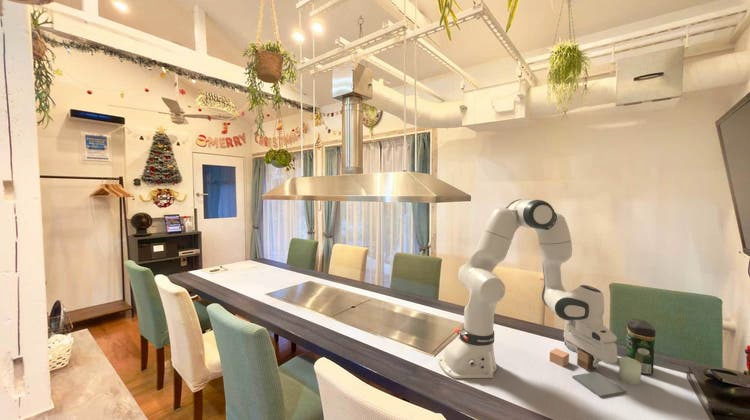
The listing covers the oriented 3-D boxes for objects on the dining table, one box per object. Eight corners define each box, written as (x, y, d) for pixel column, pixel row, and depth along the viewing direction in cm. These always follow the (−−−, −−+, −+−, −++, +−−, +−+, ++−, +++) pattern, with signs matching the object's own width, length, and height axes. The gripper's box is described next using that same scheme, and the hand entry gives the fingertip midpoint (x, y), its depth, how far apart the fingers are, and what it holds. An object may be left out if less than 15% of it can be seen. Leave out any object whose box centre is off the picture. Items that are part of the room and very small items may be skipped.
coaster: (600, 397, 101) (600, 395, 101) (572, 377, 112) (572, 375, 112) (626, 393, 104) (626, 390, 104) (596, 373, 114) (596, 371, 114)
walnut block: (587, 371, 116) (588, 356, 116) (577, 364, 120) (577, 349, 120) (596, 369, 117) (597, 354, 117) (586, 363, 121) (587, 348, 121)
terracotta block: (562, 367, 119) (563, 357, 119) (549, 361, 123) (549, 351, 123) (568, 363, 122) (569, 353, 121) (555, 357, 126) (556, 348, 126)
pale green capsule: (631, 386, 107) (632, 367, 107) (614, 376, 113) (615, 358, 113) (644, 384, 109) (645, 365, 108) (627, 374, 114) (628, 356, 114)
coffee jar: (623, 359, 124) (625, 315, 123) (648, 365, 120) (651, 319, 119) (628, 371, 116) (631, 324, 115) (655, 378, 112) (658, 329, 111)
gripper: (560, 317, 127) (558, 349, 128) (607, 341, 107) (605, 378, 108) (572, 316, 129) (571, 347, 129) (621, 339, 109) (619, 376, 110)
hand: (587, 361), depth 119 cm, fingers closed on walnut block, 4 cm apart
